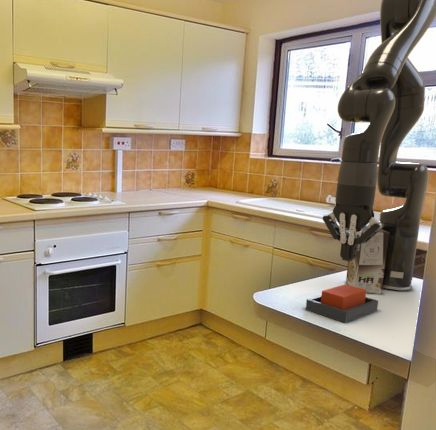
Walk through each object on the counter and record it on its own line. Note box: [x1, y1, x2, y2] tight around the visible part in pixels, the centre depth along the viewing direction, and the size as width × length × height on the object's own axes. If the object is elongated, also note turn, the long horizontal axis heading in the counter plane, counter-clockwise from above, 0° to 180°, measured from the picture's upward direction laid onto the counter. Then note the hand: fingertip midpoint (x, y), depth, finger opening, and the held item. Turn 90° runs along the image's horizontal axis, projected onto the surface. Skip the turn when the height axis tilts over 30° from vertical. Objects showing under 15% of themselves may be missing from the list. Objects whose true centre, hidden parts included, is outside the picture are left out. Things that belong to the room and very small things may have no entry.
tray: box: [305, 294, 379, 324], centre depth 104 cm, size 14×9×2 cm, turn 126°
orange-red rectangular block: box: [320, 283, 367, 310], centre depth 104 cm, size 10×5×4 cm, turn 125°
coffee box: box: [345, 225, 389, 295], centre depth 120 cm, size 9×6×16 cm
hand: (347, 260), depth 102 cm, fingers closed
